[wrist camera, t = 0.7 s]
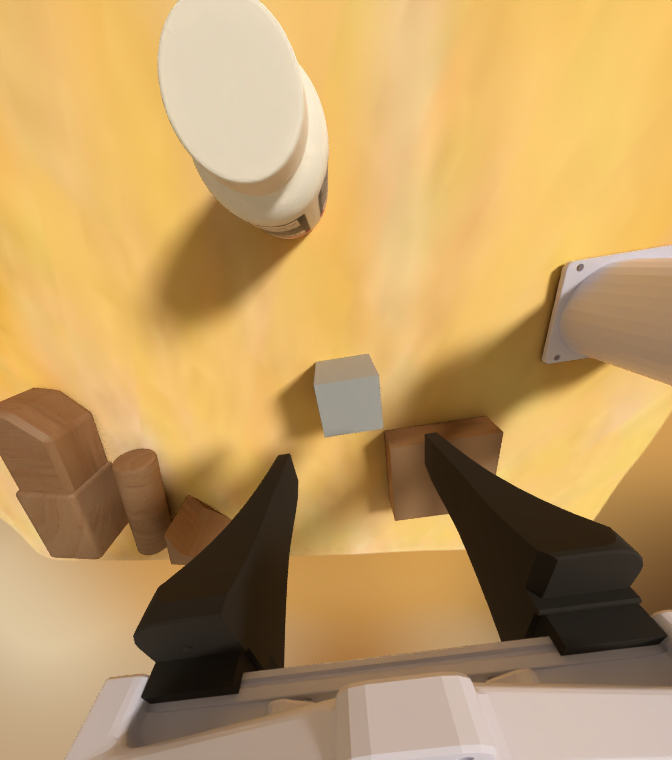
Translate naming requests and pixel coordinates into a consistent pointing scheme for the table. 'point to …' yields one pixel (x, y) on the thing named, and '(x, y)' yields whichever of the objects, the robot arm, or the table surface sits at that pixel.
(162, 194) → the table surface
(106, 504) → the wooden block set
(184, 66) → the pill bottle
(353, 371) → the grey cube
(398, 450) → the walnut block
